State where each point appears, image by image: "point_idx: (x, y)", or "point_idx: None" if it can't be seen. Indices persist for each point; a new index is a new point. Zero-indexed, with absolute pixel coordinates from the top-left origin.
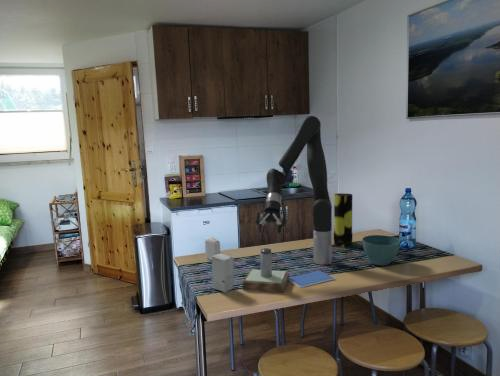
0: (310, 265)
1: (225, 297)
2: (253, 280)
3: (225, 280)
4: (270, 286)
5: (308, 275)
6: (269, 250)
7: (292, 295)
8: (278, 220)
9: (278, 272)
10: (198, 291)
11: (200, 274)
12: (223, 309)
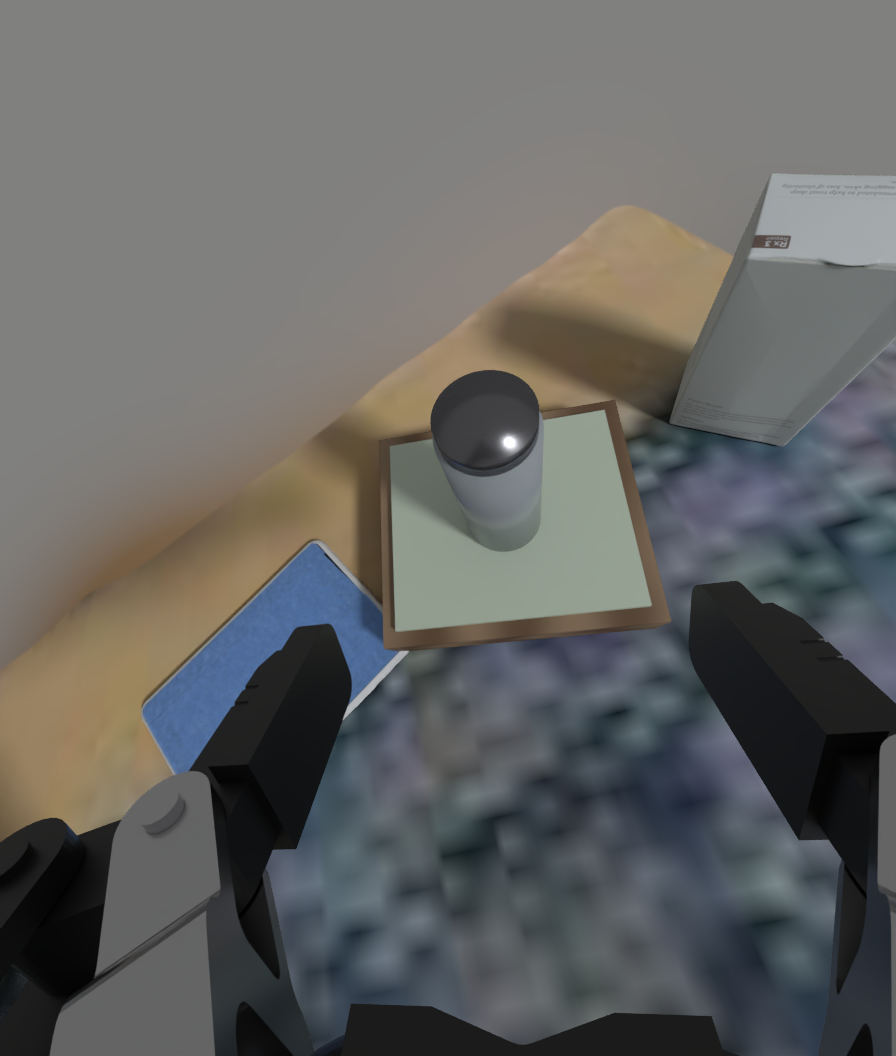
0: None
1: (647, 326)
2: (553, 421)
3: (705, 321)
4: None
5: None
6: (442, 409)
7: (348, 445)
8: (126, 956)
9: (440, 591)
10: None
11: None
12: (592, 243)
